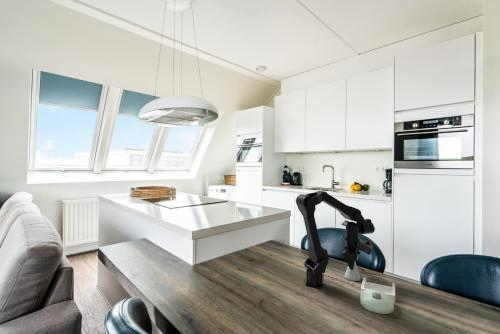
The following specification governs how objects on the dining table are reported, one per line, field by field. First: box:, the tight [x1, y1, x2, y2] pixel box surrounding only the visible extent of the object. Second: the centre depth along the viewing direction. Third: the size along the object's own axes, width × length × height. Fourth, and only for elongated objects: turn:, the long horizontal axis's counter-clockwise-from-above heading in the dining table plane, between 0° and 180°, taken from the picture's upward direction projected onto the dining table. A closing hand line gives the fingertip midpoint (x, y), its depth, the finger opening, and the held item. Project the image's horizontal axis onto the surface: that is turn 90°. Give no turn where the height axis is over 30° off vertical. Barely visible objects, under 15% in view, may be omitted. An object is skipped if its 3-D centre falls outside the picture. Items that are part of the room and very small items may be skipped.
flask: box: [343, 261, 361, 282], centre depth 117 cm, size 7×7×10 cm
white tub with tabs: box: [359, 276, 396, 315], centre depth 100 cm, size 12×23×4 cm, turn 151°
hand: (352, 269), depth 117 cm, fingers closed on flask, 3 cm apart
